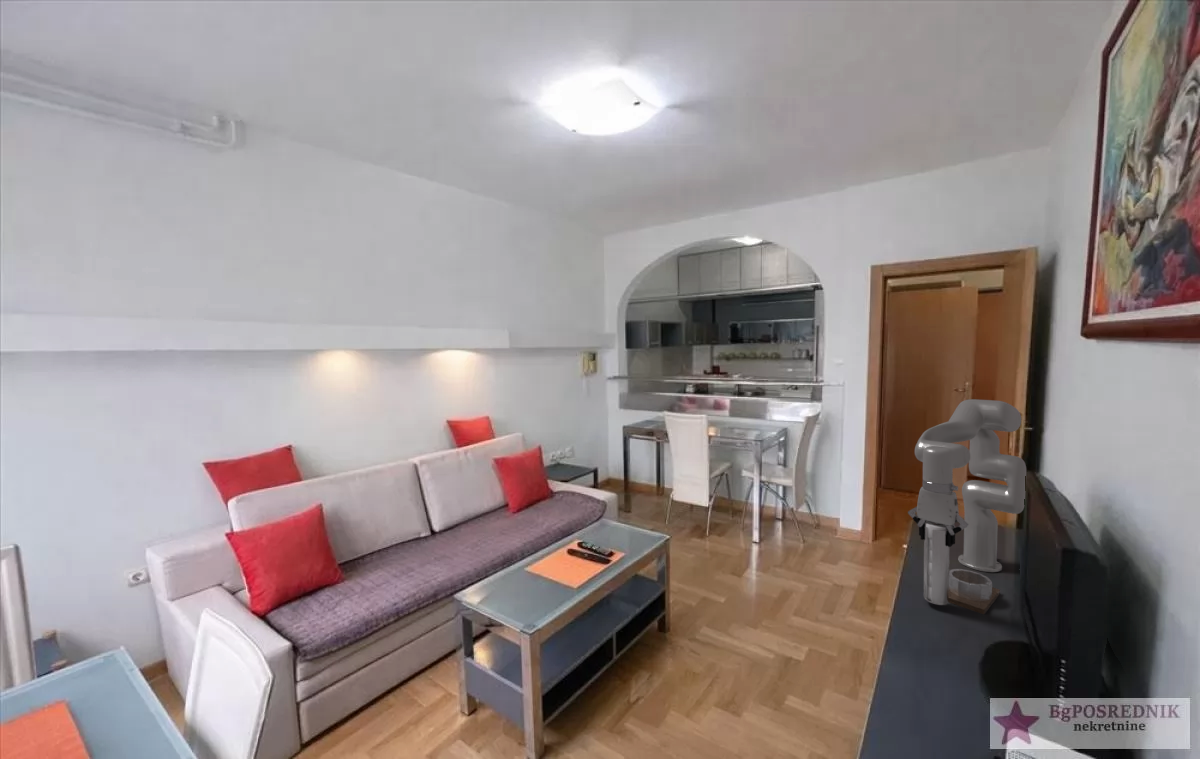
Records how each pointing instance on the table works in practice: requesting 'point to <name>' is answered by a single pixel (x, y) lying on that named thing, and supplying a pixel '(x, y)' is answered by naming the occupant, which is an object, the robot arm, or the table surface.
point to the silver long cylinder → (936, 563)
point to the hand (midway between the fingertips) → (936, 541)
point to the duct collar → (971, 590)
